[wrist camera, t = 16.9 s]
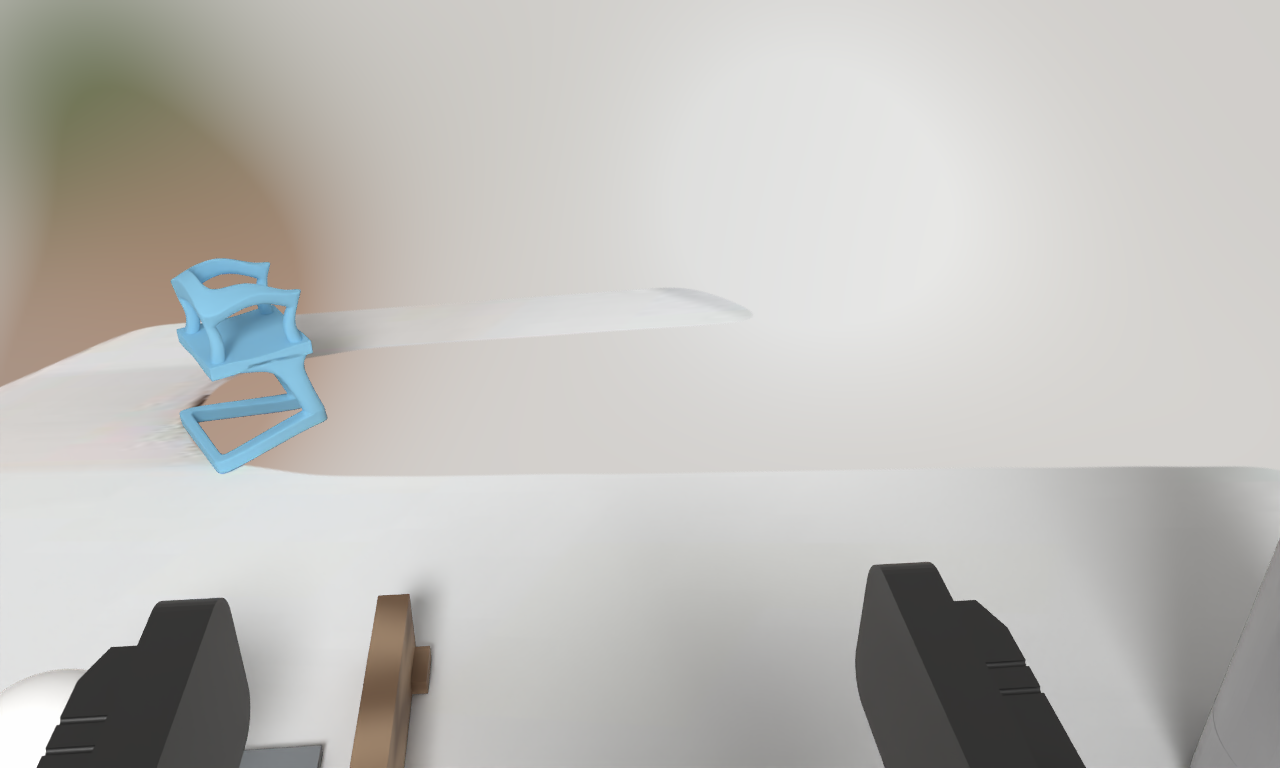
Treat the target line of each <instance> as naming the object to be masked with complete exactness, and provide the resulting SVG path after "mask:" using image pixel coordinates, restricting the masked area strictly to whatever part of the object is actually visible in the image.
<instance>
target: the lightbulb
mask: <svg viewBox="0 0 1280 768" xmlns="http://www.w3.org/2000/svg"><path fill="white" fill-rule="evenodd" d="M87 671H88V670H84V669H58V670H52V671H47V672H43V673H39V674H36V675H33V676H30V677H27V678H25V679H23V680H21V681H19V682H17V683H15V684H13V685H11V686H10V687H8V688H6V689H5V690H3V691H2V692H1V693H0V768H36V767H37V765H38V763H39V761H40V759H41V756H45V753H46V749H45V748H46V746H47V744H48V742H49V740H50V737H51V735H52V733H53V731H54V729H55V727H56V725H59V724H60V716H61V714H62V712H63V710H64V708H65V706H66V704H67V702H68V700H69V697H70V695H71V693H72V691H73V689H74V687H75V685H76V683H77V681H78V680H79V679H80V678H81V677H82V676H83V675H84V674H85V673H86V672H87Z"/></svg>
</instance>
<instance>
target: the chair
mask: <svg viewBox="0 0 1280 768" xmlns="http://www.w3.org/2000/svg"><path fill="white" fill-rule="evenodd" d="M269 267H270V263H269V262H263V263H252V262H245V261H240V260H233V259H225V258H222V259H212V260H208V261H205V262H202V263H199V264H197V265H195V266H193V267H191V268H189V269H187V270H186V271H184V272H183V273H181V274H179V275H178V276H176V277H175V278H173V279H172V280H171V283H172V286H173V288H174V290H175V292H176V295H177V297H178V299H179V301H180V303H181V305H182V306H183V309H184V311H185V314H186V327H185V328H181V329H177V334H178V338H179V342H180V343H181V344H182V345H183V347H184V348H185V349H186V350H187V351H188V352H189V353H190V354H191V355H192V356H193V357H194V358H195V360H196V361H197V362H198V363H199V365H200V366H201V368H202V369H203V371H204V372H205V373H206V375H207V376H208V377H209V378H210V379H211V381H215V380H219V379H222V378H226V377H229V376H233V375H235V374H238V373H250V372H270V373H273V374H274V375H275V376H276V378H277V379H278V380H279V382H280V383H281V385H282V386H283V387H284V389H285V390H286V392H287V394H281V395H276V396H269V397H262V398H255V399H248V400H241V401H234V402H226V403H218V404H212V405H205V406H199V407H194V408H189V409H186V410H183V411H181V412H180V418H181V421H182V424H183V426H184V428H185V429H186V430H187V432H188V433H189V434H190V436H191V437H192V438H193V440H194V441H195V442H196V444H197V445H198V447H199V448H200V449H201V451H202V452H203V453H204V455H205V456H206V457H207V459H208V460H209V461H210V463H211V464H212V465H213V467H214V468H215V469H216V471H217V472H218V473H220V474H223V473H226V472H229V471H231V470H233V469H235V468H237V467H239V466H241V465H243V464H245V463H247V462H249V461H251V460H252V459H254V458H256V457H258V456H259V455H261V454H263V453H265V452H267V451H269V450H270V449H272V448H274V447H276V446H277V445H279V444H281V443H283V442H285V441H286V440H288V439H290V438H292V437H294V436H295V435H297V434H299V433H301V432H303V431H305V430H307V429H309V428H311V427H313V426H315V425H317V424H319V423H322V422H324V421H325V420H327V415H326V412H325V408H324V406H323V404H322V402H321V400H320V399H319V397H318V395H317V394H316V392H315V390H314V388H313V386H312V384H311V382H310V380H309V378H308V376H307V374H306V371H305V368H304V360H305V357H306V355H307V354H311V353H313V351H312V344H311V340H309V339H308V338H307V337H306V336H305V335H304V334H303V333H302V332H301V331H299V330H298V329H297V327H296V323H295V314H296V309H297V304H298V299H299V296H300V292H301V291H300V290H299V289H294V290H281V289H276V288H271V287H268V286H267V275H268V271H269ZM229 273H230V274H241V275H246V276H250V277H254V278H257V284H247V283H244V284H237V285H233V286H229V287H225V288H221V289H209V288H207V287H205V286H204V285H203V284H202V283H203V282H205V281H207V280H208V279H210V278H212V277H215V276H218V275H220V274H229ZM271 304H275V305H282V306H286V310H285V313H284V315H283V314H282V313H281V312H280V311H279V310H278V309H277V308H276V307H275V306H274V305H272V306H271ZM252 305H258V309H256V310H253V311H250V312H247V313H244V314H240V315H238V316H234V317H230V318H227V317H229V316H231V315H232V314H234V313H236V312H238V311H240V310H242V309H244V308H247V307H249V306H252ZM200 320H201V322H202V324H200ZM300 408H302V411H301V412H299V413H297V414H295V415H293V416H291V417H290V418H288V419H286V420H284V421H283V422H281V423H279V424H277V425H276V426H274V427H272V428H270V429H269V430H267V431H265V432H263V433H262V434H260V435H258V436H257V437H255V438H253V439H252V440H250V441H248V442H246V443H244V444H243V445H241V446H239V447H237V448H236V449H234V450H232V451H230V452H228V453H227V454H223V455H222V454H221V453H219V451H218V450H217V449H216V447H215V446H214V444H213V443H212V442H211V440H210V439H209V437H208V436H207V435H206V433H205V432H204V430H203V429H202V428H201V426H200V425H199V424H198V422H204V421H212V420H220V419H227V418H235V417H244V416H251V415H259V414H268V413H275V412H282V411H289V410H295V409H300Z"/></svg>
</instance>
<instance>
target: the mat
mask: <svg viewBox="0 0 1280 768" xmlns="http://www.w3.org/2000/svg"><path fill="white" fill-rule="evenodd" d="M322 754H323V752H322V746H321V745H318V746H302V747H287V748H272V749H257V750H244V752H243V755H242V759H241V763H240V766H239V768H320V764H321V759H322Z"/></svg>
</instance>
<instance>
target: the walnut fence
mask: <svg viewBox="0 0 1280 768" xmlns="http://www.w3.org/2000/svg"><path fill="white" fill-rule="evenodd" d="M430 666H431V651H430V646H422V647H416V644H415V636H414V628H413V620H412V612H411V603H410V595H409V594H401V595H383V596H378V600H377V606H376V612H375V618H374V624H373V630H372V636H371V642H370V648H369V653H368V659H367V665H366V671H365V678H364V684H363V690H362V696H361V702H360V708H359V714H358V720H357V726H356V732H355V738H354V744H353V750H352V756H351V762H350V768H404V763H405V754H406V746H407V737H408V728H409V719H410V710H411V701H412V694H425V693H428V687H429V676H430Z"/></svg>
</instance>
